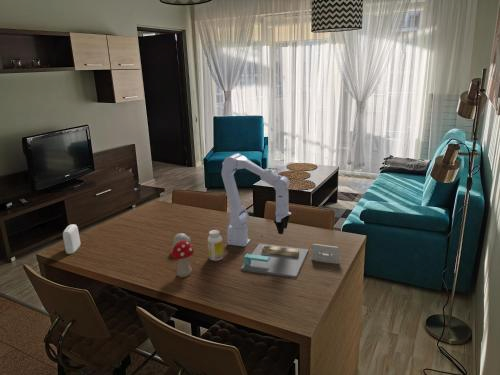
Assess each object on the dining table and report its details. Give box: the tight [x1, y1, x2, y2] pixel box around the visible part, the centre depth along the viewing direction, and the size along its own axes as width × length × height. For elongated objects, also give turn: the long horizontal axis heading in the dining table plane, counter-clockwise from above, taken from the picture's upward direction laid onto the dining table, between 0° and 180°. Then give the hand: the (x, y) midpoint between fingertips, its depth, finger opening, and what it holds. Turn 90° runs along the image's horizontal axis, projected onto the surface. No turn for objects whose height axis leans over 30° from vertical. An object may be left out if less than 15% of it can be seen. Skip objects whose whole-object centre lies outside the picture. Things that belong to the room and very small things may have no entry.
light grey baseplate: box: [240, 243, 309, 279], centre depth 173 cm, size 24×25×1 cm
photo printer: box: [62, 224, 82, 255], centre depth 190 cm, size 10×4×12 cm, turn 2°
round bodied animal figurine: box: [171, 232, 192, 251], centre depth 187 cm, size 7×12×8 cm, turn 155°
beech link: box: [262, 244, 299, 257], centre depth 177 cm, size 17×4×3 cm, turn 70°
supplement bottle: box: [207, 229, 224, 262], centre depth 176 cm, size 7×7×13 cm
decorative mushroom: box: [170, 241, 195, 278], centre depth 162 cm, size 10×9×15 cm
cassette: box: [311, 243, 341, 265], centre depth 170 cm, size 12×2×8 cm, turn 69°
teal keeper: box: [243, 253, 270, 265], centre depth 167 cm, size 10×3×5 cm, turn 70°
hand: (282, 230), depth 181 cm, fingers open, 6 cm apart
